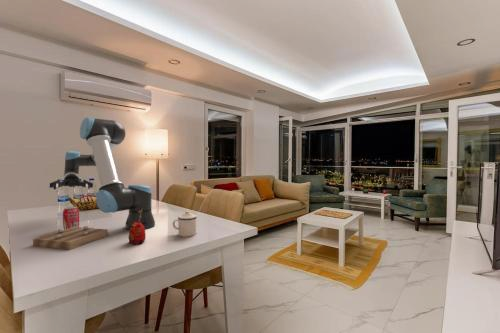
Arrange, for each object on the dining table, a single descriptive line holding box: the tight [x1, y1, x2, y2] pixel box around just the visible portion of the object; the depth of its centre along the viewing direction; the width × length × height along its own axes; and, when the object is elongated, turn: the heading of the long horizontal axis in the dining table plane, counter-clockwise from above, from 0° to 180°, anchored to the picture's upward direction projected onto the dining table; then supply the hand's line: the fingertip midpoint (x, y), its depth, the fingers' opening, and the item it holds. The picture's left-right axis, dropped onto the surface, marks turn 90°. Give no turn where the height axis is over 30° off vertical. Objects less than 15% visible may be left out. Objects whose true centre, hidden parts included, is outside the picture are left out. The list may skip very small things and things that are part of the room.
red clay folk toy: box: [128, 210, 147, 245], centre depth 115 cm, size 8×7×15 cm
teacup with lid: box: [172, 210, 197, 238], centre depth 127 cm, size 12×9×12 cm
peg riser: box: [32, 225, 109, 250], centre depth 117 cm, size 20×20×4 cm
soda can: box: [62, 206, 80, 230], centre depth 134 cm, size 7×7×12 cm
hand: (72, 189), depth 139 cm, fingers open, 13 cm apart
